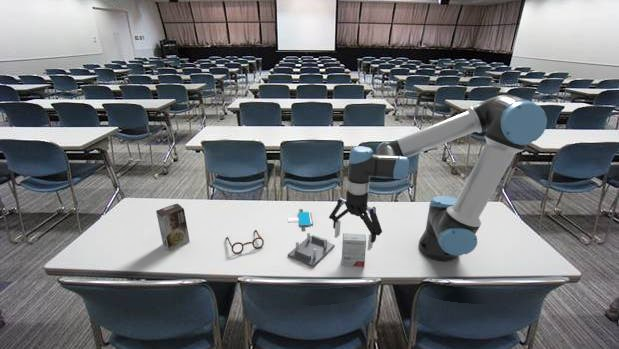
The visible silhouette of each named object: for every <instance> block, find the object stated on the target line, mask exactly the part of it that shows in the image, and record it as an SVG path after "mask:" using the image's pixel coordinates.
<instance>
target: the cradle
mask: <svg viewBox="0 0 619 349" xmlns="http://www.w3.org/2000/svg"><path fill="white" fill-rule="evenodd" d="M306 236H307V237H306V238H305V239H304V240H303V241H302V242H300V243H299V241H296V242H295V247H294V248H293V249H292V250H290V252H289V253H287V257H288V258H290V259H293V260H295V261H297V262H300V263H301V264H304V265H306V266H309V267H312V268H315V266H316V265H318V264H319V262H320V261H321V260H322V259H323V258H324V257H326V255H328V254H329V253H330V251H331V250H333V249H334V248H335V244H334V243H332V242H329V241H328V239H327V238H323V237H319V236H317V235H314V234H312V235H311V233H310V232H307V234H306Z"/></svg>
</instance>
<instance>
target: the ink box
mask: <svg viewBox="0 0 619 349" xmlns="http://www.w3.org/2000/svg"><path fill="white" fill-rule="evenodd" d="M366 238H367V237H366V234H364V233H349V232H348V233H342V242H341V243H342V247H341V266H342V267H360V268H361V267H362V268H364V267H365V263H366V262H365V261H366V251H367V250H366V249H367V239H366Z"/></svg>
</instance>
